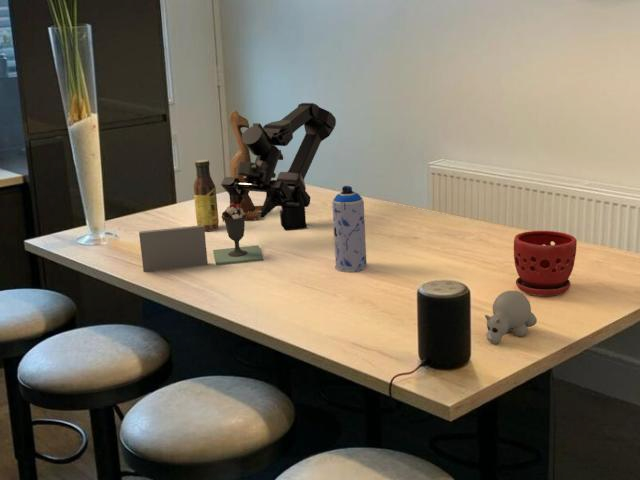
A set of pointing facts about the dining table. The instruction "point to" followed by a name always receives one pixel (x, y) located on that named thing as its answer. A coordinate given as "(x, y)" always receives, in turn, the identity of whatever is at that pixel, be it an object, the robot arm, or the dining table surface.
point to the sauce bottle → (205, 197)
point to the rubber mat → (252, 255)
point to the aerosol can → (349, 231)
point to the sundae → (235, 226)
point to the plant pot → (544, 262)
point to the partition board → (173, 248)
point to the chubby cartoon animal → (509, 316)
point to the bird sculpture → (242, 156)
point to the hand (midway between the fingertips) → (246, 216)
